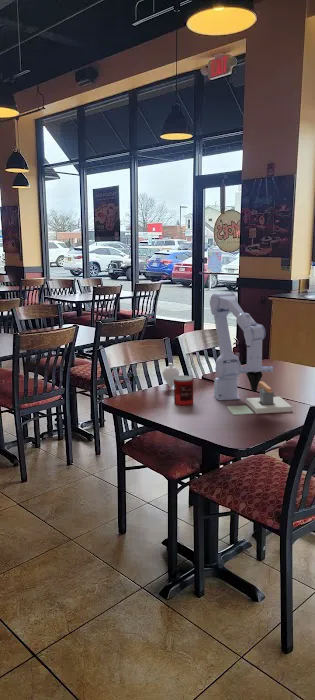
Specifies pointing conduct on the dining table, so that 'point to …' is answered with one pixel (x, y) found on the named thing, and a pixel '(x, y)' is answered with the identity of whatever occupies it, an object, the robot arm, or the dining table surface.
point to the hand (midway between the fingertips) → (253, 390)
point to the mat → (239, 410)
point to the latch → (265, 387)
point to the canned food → (183, 390)
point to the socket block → (277, 406)
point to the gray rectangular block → (266, 398)
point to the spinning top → (170, 374)
